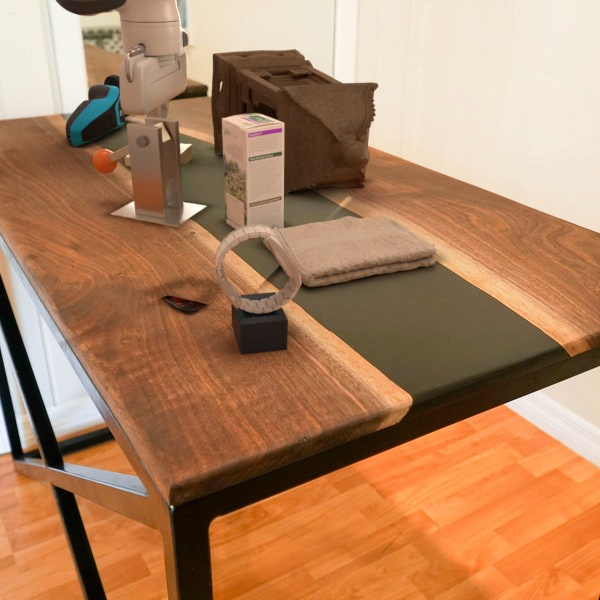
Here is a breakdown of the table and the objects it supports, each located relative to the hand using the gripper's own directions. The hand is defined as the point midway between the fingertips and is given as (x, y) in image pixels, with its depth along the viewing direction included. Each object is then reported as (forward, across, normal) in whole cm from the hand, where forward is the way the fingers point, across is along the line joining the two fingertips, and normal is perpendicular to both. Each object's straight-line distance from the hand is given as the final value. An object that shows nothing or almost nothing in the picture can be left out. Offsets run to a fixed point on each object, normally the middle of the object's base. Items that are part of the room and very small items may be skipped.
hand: (159, 131), depth 106 cm
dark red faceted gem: (+6, -44, -19) cm, 48 cm away
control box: (+6, 0, 0) cm, 6 cm away
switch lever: (-2, -22, -5) cm, 23 cm away
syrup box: (+6, -25, -21) cm, 33 cm away
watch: (+6, -49, -27) cm, 57 cm away
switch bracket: (+6, -23, -8) cm, 25 cm away
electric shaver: (+6, +16, +18) cm, 25 cm away
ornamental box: (+6, -1, -24) cm, 24 cm away
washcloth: (+6, -30, -34) cm, 46 cm away
